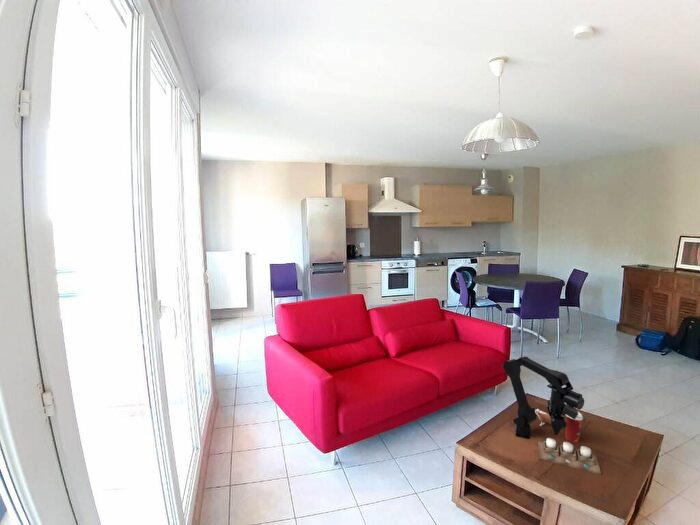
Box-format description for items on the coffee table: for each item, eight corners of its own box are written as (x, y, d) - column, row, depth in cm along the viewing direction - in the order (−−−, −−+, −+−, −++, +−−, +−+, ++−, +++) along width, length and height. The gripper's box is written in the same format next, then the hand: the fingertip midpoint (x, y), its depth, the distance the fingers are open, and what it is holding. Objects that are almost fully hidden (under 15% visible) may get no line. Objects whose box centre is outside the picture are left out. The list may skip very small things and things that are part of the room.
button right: (580, 457, 160) (581, 450, 160) (579, 452, 164) (580, 445, 163) (591, 459, 158) (591, 452, 158) (589, 454, 162) (590, 447, 162)
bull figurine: (533, 419, 195) (534, 406, 194) (561, 428, 187) (562, 414, 186) (532, 423, 191) (533, 409, 190) (560, 432, 183) (561, 418, 182)
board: (539, 458, 163) (539, 451, 163) (538, 443, 174) (538, 437, 174) (600, 474, 153) (601, 467, 153) (595, 457, 164) (596, 451, 163)
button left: (546, 448, 166) (546, 441, 166) (545, 443, 170) (546, 437, 169) (555, 451, 164) (556, 444, 164) (555, 446, 168) (555, 439, 168)
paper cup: (583, 444, 173) (586, 418, 172) (566, 442, 175) (569, 416, 173) (576, 435, 181) (579, 410, 179) (560, 433, 182) (562, 408, 181)
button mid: (563, 452, 163) (563, 445, 163) (562, 447, 167) (562, 441, 166) (573, 455, 161) (573, 448, 161) (571, 450, 165) (572, 443, 165)
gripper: (581, 413, 152) (578, 445, 155) (573, 393, 169) (570, 422, 171) (552, 407, 157) (549, 439, 159) (547, 388, 174) (545, 417, 176)
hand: (554, 429), depth 166 cm, fingers open, 9 cm apart
